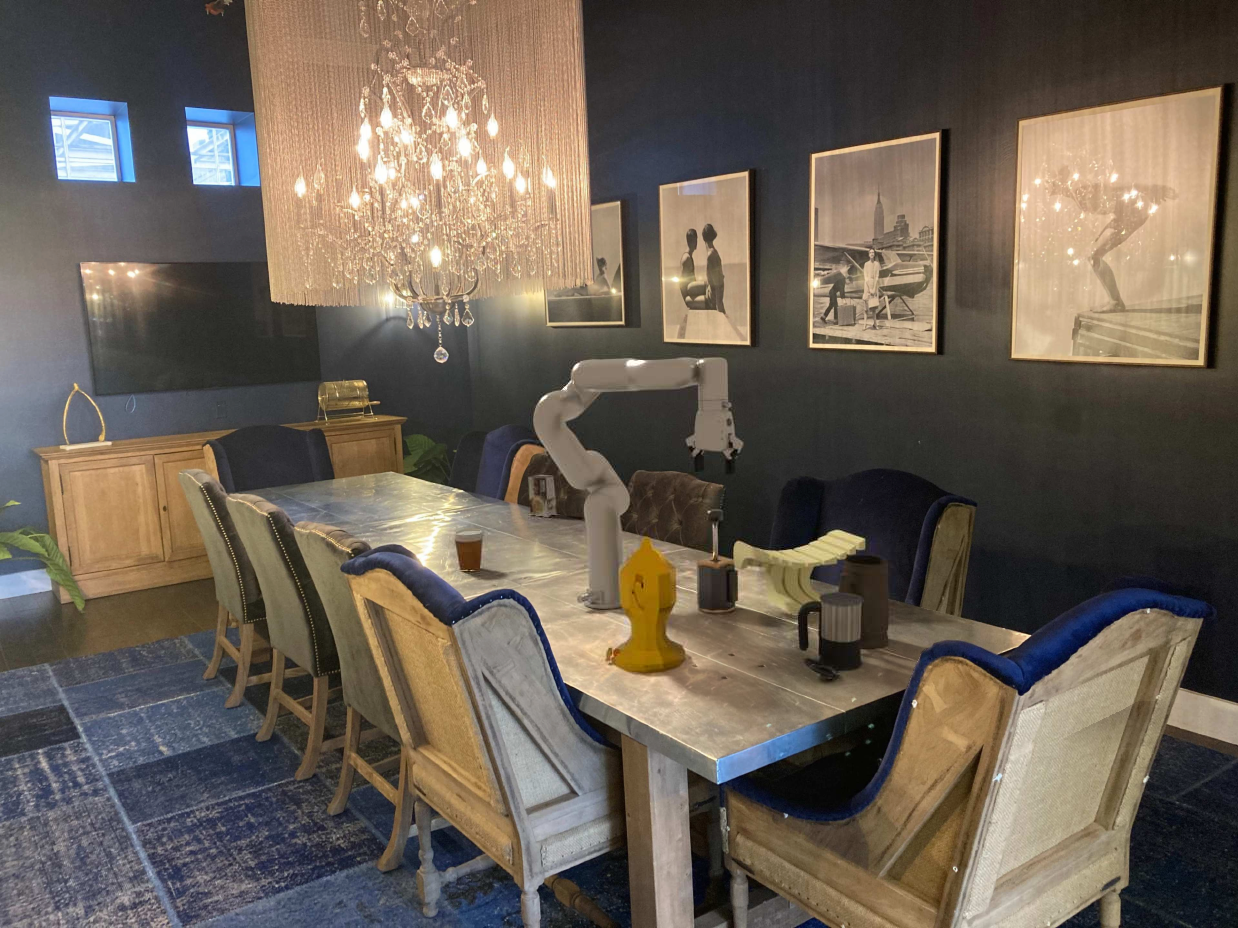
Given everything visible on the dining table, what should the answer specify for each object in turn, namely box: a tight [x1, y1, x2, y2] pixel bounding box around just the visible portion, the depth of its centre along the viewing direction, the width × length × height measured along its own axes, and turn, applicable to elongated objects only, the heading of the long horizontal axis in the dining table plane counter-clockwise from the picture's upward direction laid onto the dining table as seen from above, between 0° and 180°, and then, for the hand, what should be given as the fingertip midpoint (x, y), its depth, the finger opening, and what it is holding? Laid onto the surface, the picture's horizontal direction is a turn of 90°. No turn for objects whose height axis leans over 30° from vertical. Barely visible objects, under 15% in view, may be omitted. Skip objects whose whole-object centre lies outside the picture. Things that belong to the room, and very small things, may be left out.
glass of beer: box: [452, 528, 485, 571], centre depth 300 cm, size 10×10×12 cm
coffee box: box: [527, 474, 558, 518], centre depth 385 cm, size 9×6×16 cm
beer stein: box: [837, 554, 890, 649], centre depth 220 cm, size 15×11×20 cm
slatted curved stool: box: [733, 529, 866, 616], centre depth 253 cm, size 30×16×18 cm, turn 110°
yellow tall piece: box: [604, 536, 687, 674], centre depth 213 cm, size 18×24×28 cm
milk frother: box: [797, 592, 864, 680], centre depth 205 cm, size 14×16×15 cm
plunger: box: [703, 508, 727, 568], centre depth 249 cm, size 6×6×15 cm
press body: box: [696, 555, 739, 615], centre depth 251 cm, size 10×11×13 cm
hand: (714, 472), depth 247 cm, fingers open, 9 cm apart
